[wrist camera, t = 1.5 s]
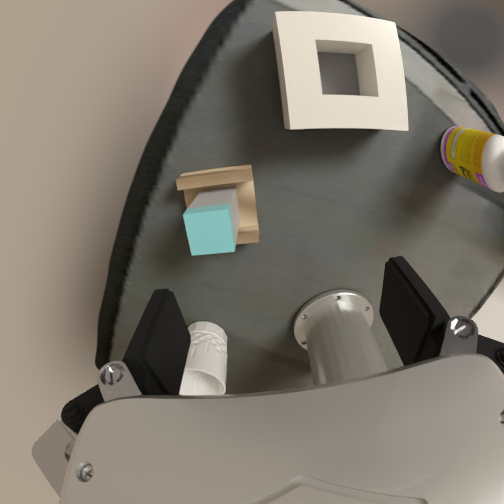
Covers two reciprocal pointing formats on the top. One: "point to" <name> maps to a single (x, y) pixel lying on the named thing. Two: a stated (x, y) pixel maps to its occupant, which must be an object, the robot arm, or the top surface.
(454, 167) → the supplement bottle
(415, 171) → the top surface
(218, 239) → the plug
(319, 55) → the port block
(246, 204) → the cradle
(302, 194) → the top surface
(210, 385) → the white cup
